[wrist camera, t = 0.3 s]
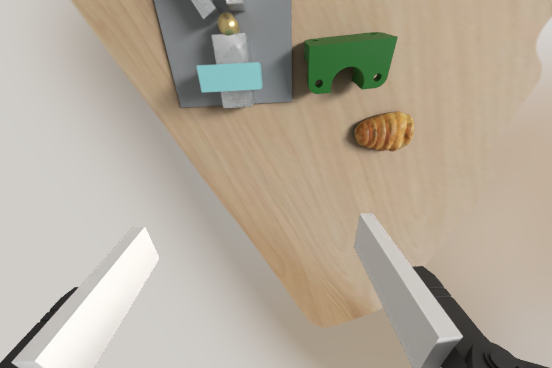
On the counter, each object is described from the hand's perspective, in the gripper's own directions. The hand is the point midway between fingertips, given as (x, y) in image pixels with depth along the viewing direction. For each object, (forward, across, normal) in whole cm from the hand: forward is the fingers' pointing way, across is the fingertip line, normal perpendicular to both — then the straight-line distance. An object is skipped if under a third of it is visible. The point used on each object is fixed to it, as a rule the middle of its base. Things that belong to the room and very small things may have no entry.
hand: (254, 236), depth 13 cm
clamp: (+28, +12, +10) cm, 32 cm away
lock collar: (+26, -3, +9) cm, 28 cm away
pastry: (+28, +22, -2) cm, 35 cm away
